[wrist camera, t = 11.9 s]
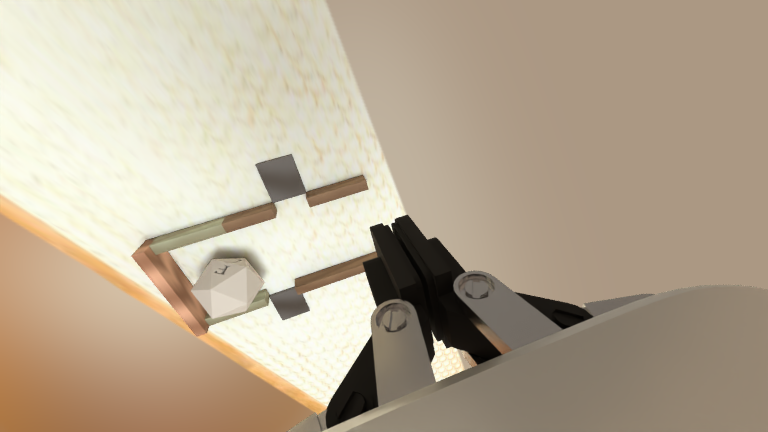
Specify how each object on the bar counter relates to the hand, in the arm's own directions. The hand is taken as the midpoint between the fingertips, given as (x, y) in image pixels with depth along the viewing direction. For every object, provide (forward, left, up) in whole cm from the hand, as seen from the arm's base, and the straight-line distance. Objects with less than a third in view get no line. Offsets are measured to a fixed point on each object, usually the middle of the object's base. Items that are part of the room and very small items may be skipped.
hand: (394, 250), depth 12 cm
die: (+17, -21, -32) cm, 42 cm away
